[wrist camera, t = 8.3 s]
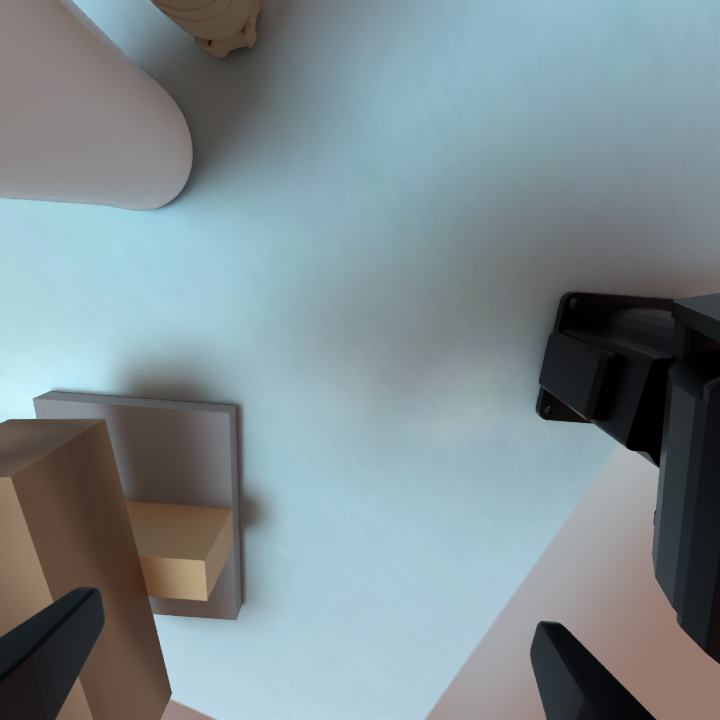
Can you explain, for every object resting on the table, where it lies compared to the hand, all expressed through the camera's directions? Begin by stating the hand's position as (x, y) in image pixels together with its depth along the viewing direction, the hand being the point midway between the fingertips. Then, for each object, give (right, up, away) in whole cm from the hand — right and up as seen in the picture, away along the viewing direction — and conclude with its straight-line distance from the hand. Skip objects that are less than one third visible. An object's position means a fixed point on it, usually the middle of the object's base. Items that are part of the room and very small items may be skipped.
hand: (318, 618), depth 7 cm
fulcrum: (-11, -3, +14) cm, 18 cm away
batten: (-11, -5, +9) cm, 15 cm away
